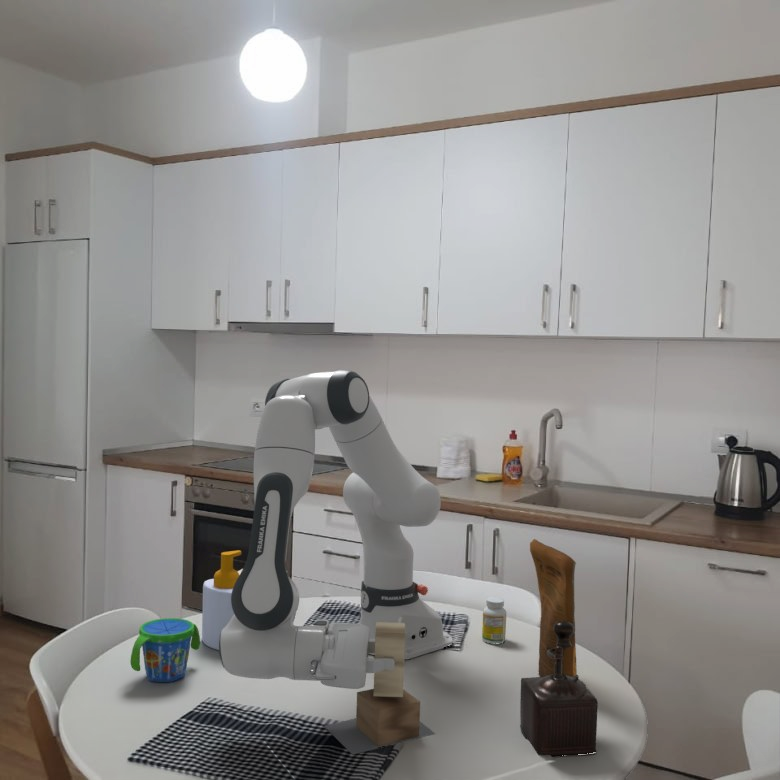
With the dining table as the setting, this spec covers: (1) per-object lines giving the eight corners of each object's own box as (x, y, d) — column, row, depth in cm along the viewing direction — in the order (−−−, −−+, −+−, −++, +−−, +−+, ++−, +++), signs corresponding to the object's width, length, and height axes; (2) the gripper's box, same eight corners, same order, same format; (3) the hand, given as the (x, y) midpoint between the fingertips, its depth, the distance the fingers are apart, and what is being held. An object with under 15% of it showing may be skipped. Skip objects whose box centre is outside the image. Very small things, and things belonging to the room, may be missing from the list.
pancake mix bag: (553, 704, 150) (558, 558, 149) (522, 664, 169) (527, 535, 168) (587, 703, 151) (593, 558, 150) (553, 664, 170) (558, 535, 169)
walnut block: (395, 716, 142) (396, 683, 142) (419, 735, 135) (420, 701, 135) (356, 725, 138) (357, 692, 138) (378, 746, 132) (379, 710, 131)
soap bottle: (258, 646, 175) (261, 555, 174) (228, 656, 169) (230, 562, 168) (222, 631, 184) (224, 544, 183) (192, 640, 177) (193, 550, 177)
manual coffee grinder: (601, 755, 132) (606, 648, 131) (537, 758, 130) (541, 650, 129) (567, 712, 147) (571, 617, 146) (509, 715, 145) (513, 618, 145)
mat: (402, 709, 146) (402, 707, 146) (435, 735, 137) (435, 733, 137) (323, 727, 138) (323, 725, 138) (352, 756, 129) (352, 754, 129)
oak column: (374, 683, 139) (376, 622, 139) (402, 684, 139) (404, 623, 139) (373, 696, 134) (375, 632, 134) (403, 697, 134) (405, 633, 134)
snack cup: (184, 658, 167) (184, 610, 167) (214, 672, 160) (215, 623, 160) (116, 680, 155) (116, 628, 155) (145, 696, 149) (146, 643, 148)
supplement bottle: (497, 646, 179) (498, 604, 179) (477, 640, 183) (478, 599, 182) (509, 640, 183) (511, 599, 183) (490, 634, 187) (491, 594, 186)
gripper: (307, 658, 126) (395, 661, 126) (320, 615, 146) (395, 618, 146) (306, 697, 126) (393, 700, 126) (319, 649, 147) (394, 651, 147)
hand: (394, 656), depth 136 cm, fingers closed on oak column, 5 cm apart
